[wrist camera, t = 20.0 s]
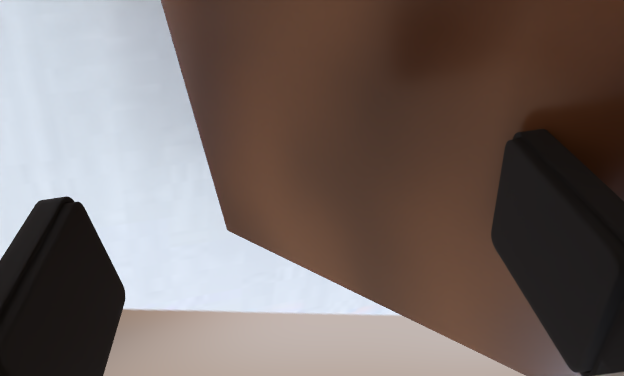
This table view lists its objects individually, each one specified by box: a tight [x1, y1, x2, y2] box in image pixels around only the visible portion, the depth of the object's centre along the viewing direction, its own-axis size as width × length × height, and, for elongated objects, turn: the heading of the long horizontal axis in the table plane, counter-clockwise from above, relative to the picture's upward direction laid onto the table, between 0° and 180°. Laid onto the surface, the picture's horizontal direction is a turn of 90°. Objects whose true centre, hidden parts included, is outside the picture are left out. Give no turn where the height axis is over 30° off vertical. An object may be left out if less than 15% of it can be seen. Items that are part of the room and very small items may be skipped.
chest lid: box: [161, 0, 624, 376], centre depth 13 cm, size 17×14×1 cm
